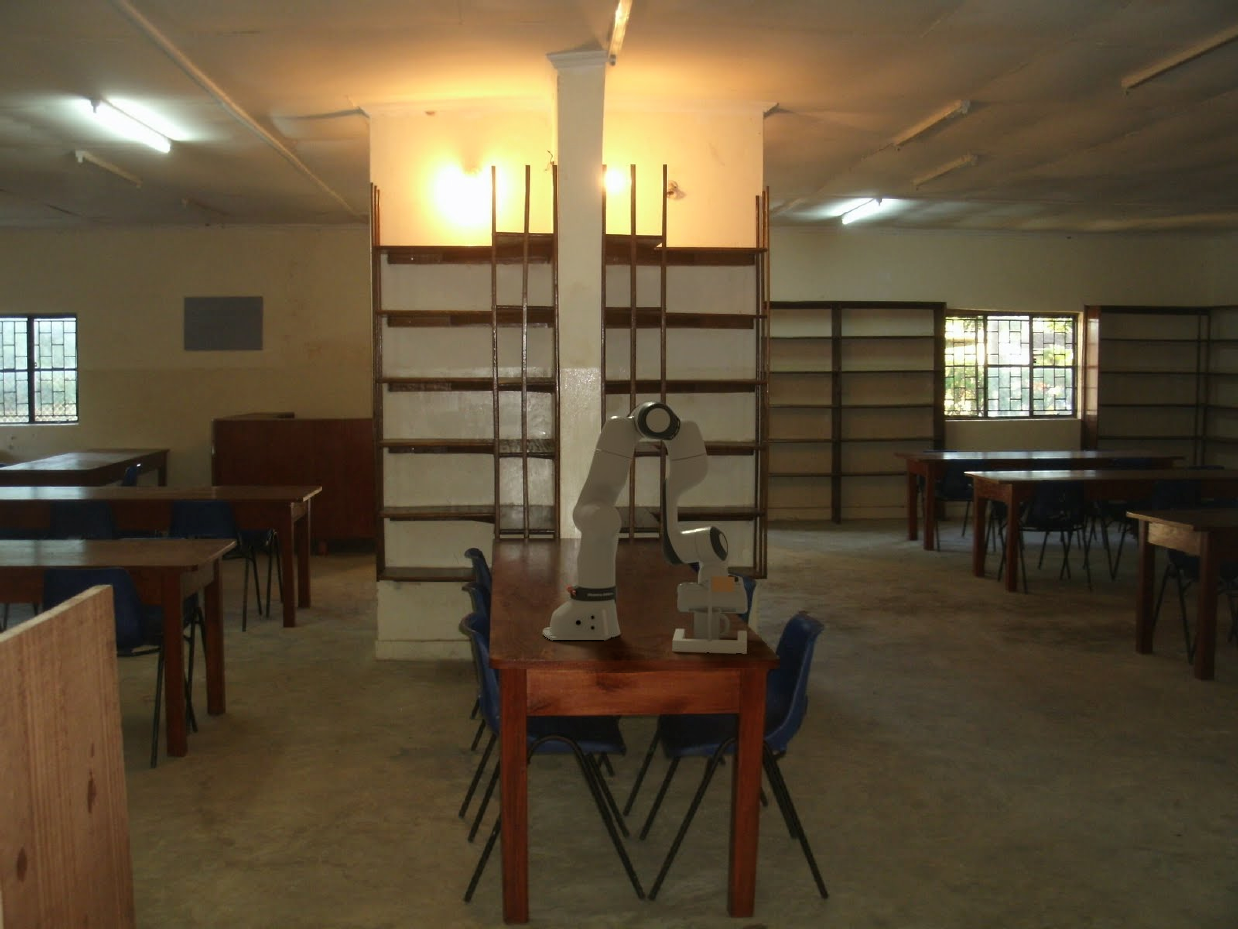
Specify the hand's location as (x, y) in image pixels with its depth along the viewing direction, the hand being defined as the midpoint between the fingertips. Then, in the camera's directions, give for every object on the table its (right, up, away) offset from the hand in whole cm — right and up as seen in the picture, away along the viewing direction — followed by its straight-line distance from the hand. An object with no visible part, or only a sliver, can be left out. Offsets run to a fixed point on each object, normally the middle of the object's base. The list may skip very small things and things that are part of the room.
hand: (711, 623), depth 307 cm
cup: (0, -5, -4) cm, 6 cm away
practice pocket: (-1, -5, -9) cm, 10 cm away
